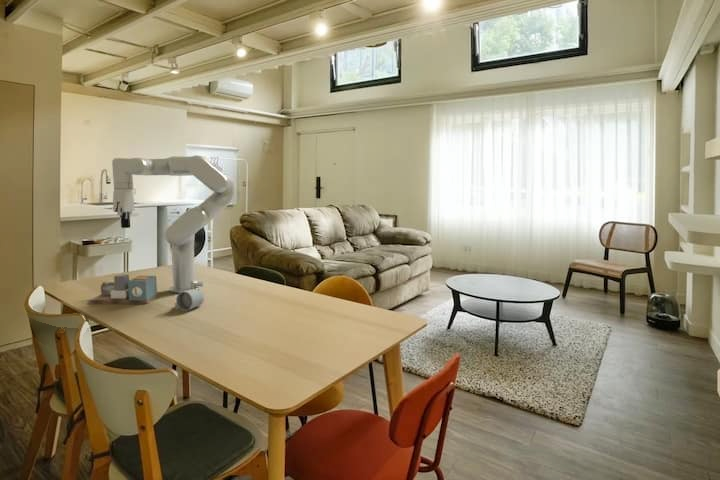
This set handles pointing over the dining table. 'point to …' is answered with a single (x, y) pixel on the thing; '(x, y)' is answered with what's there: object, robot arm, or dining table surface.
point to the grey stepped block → (120, 286)
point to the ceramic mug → (189, 299)
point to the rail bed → (106, 298)
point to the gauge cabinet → (142, 288)
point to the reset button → (141, 278)
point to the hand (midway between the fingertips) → (125, 227)
